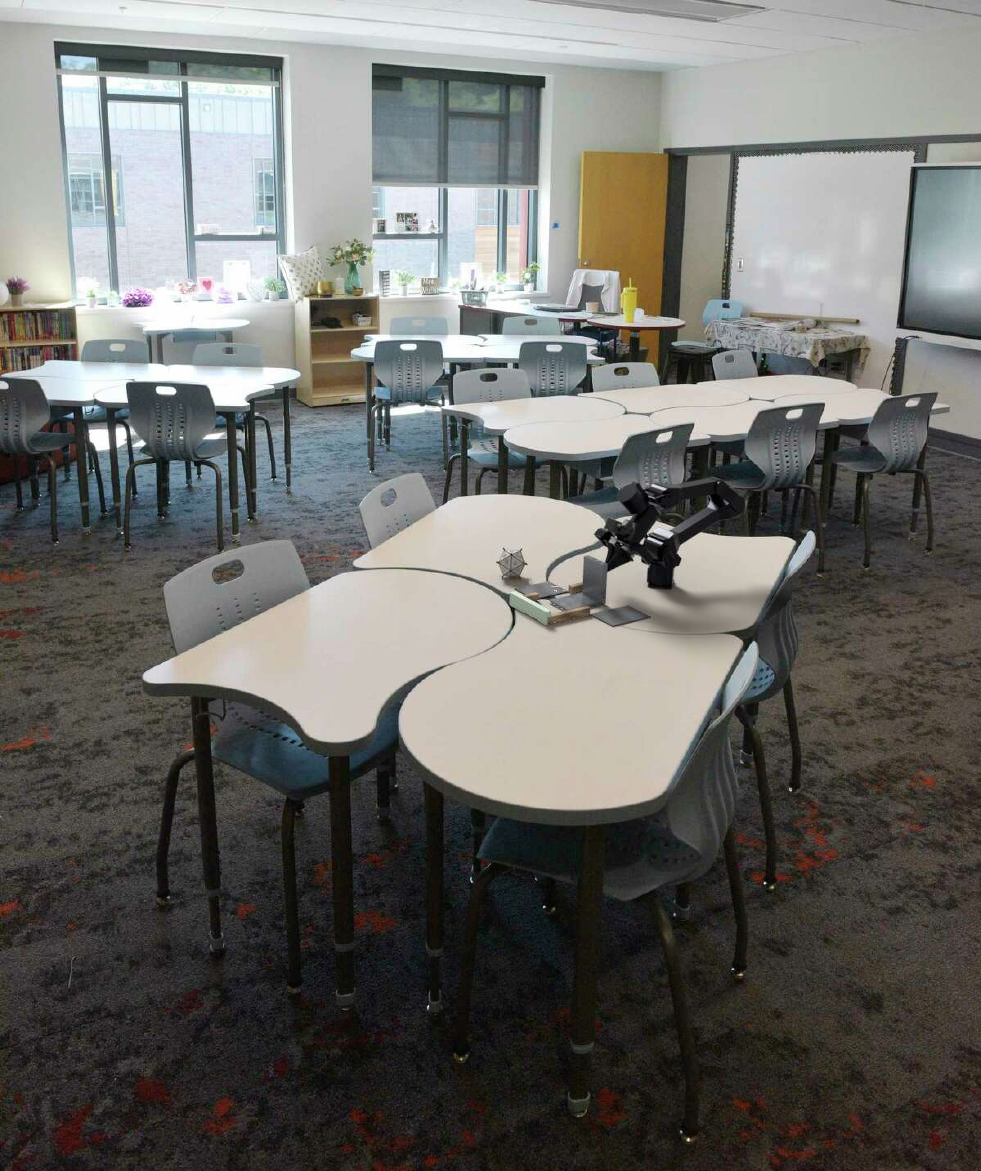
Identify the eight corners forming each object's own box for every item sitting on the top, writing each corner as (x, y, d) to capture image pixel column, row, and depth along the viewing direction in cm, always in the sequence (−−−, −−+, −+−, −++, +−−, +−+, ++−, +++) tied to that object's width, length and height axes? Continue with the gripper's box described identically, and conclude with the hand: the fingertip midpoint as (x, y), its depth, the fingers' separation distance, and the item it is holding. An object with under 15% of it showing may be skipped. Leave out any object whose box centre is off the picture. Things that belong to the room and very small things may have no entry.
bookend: (586, 595, 283) (588, 555, 279) (605, 604, 276) (607, 563, 273) (549, 603, 277) (550, 562, 273) (567, 613, 270) (569, 571, 266)
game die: (516, 587, 298) (536, 557, 298) (514, 587, 289) (535, 556, 289) (489, 569, 299) (509, 539, 298) (486, 568, 290) (507, 537, 290)
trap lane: (569, 577, 295) (569, 570, 294) (650, 617, 268) (651, 609, 267) (492, 594, 282) (492, 586, 282) (569, 637, 255) (569, 629, 255)
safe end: (514, 604, 276) (514, 591, 275) (550, 624, 263) (551, 610, 262) (509, 605, 275) (509, 592, 274) (545, 625, 262) (546, 612, 261)
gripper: (601, 498, 283) (565, 544, 281) (647, 515, 268) (610, 564, 266) (623, 522, 289) (588, 568, 287) (669, 540, 274) (633, 589, 273)
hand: (603, 571), depth 278 cm, fingers closed
